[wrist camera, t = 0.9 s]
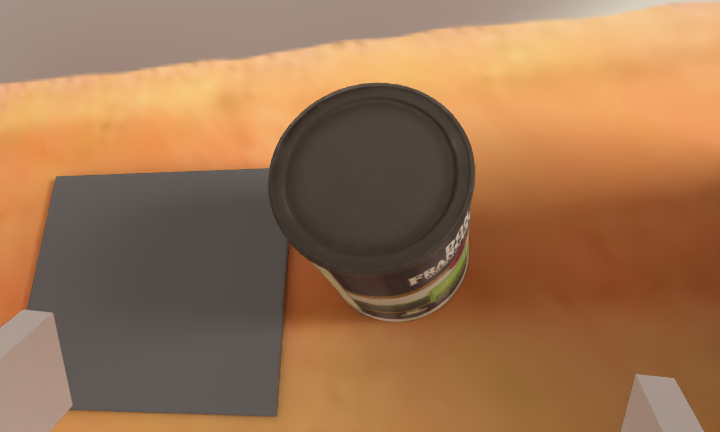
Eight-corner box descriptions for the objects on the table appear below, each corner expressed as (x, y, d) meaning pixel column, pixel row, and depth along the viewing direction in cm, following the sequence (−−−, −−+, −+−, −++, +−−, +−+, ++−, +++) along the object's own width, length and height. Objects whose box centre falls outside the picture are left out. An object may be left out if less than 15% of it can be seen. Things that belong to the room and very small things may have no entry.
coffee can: (495, 222, 41) (513, 129, 28) (424, 350, 39) (407, 315, 26) (371, 161, 44) (335, 52, 31) (299, 277, 42) (227, 213, 29)
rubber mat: (294, 170, 45) (292, 167, 44) (276, 416, 39) (274, 416, 39) (60, 179, 48) (56, 176, 48) (12, 407, 42) (5, 407, 42)
